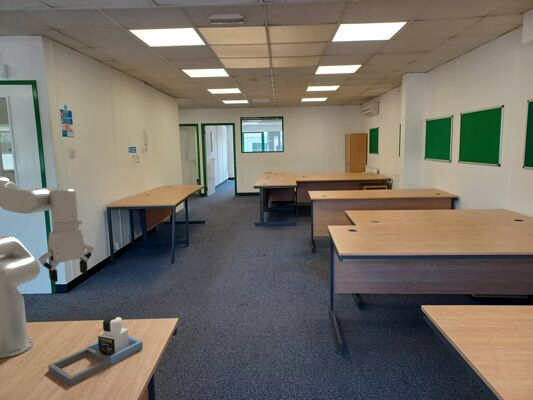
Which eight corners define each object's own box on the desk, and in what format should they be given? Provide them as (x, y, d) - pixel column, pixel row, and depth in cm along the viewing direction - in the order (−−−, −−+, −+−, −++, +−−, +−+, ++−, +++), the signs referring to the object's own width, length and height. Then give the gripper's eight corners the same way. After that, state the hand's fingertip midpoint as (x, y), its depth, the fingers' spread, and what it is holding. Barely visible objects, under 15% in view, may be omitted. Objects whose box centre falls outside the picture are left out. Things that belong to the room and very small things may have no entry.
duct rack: (48, 371, 116) (48, 363, 116) (120, 337, 137) (120, 331, 137) (70, 385, 109) (69, 377, 108) (142, 348, 129) (142, 341, 129)
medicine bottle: (98, 354, 126) (96, 321, 124) (113, 344, 132) (111, 313, 131) (115, 358, 123) (113, 324, 122) (129, 347, 130) (127, 315, 129)
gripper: (85, 221, 128) (88, 268, 130) (31, 229, 114) (36, 282, 116) (96, 223, 124) (100, 271, 126) (42, 232, 110) (47, 286, 112)
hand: (69, 276), depth 121 cm, fingers open, 9 cm apart
